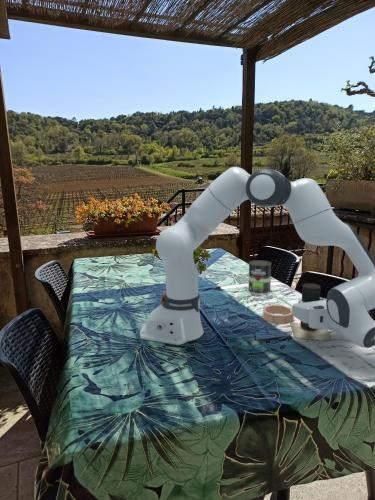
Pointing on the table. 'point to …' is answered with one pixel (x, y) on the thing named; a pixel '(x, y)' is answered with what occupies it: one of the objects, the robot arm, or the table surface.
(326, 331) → the beige square cloth
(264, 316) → the ring dish
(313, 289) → the deodorant
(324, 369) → the table surface
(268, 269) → the coffee can
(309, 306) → the robot arm
